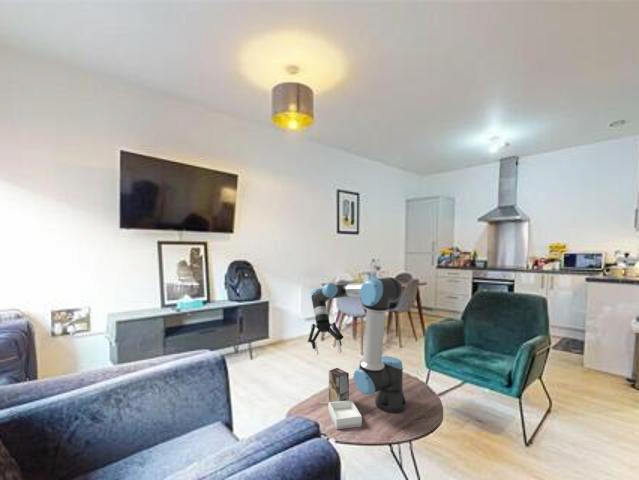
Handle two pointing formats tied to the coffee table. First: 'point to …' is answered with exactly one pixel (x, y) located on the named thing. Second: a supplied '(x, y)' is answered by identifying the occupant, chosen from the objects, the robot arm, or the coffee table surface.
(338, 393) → the coffee box
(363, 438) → the coffee table surface
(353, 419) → the box
